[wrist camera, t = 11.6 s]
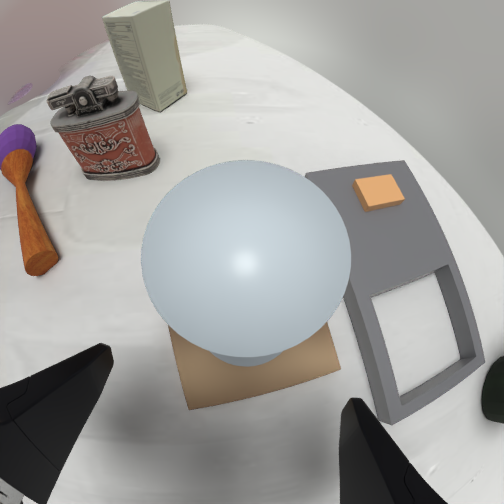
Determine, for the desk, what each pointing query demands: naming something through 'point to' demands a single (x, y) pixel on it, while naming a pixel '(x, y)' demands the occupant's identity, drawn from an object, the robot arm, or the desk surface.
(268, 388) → the coaster
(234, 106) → the desk surface
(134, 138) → the lighter
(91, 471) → the desk surface
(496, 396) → the potion bottle
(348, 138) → the desk surface
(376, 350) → the gray switch base
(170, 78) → the skincare box
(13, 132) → the kendama
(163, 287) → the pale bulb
